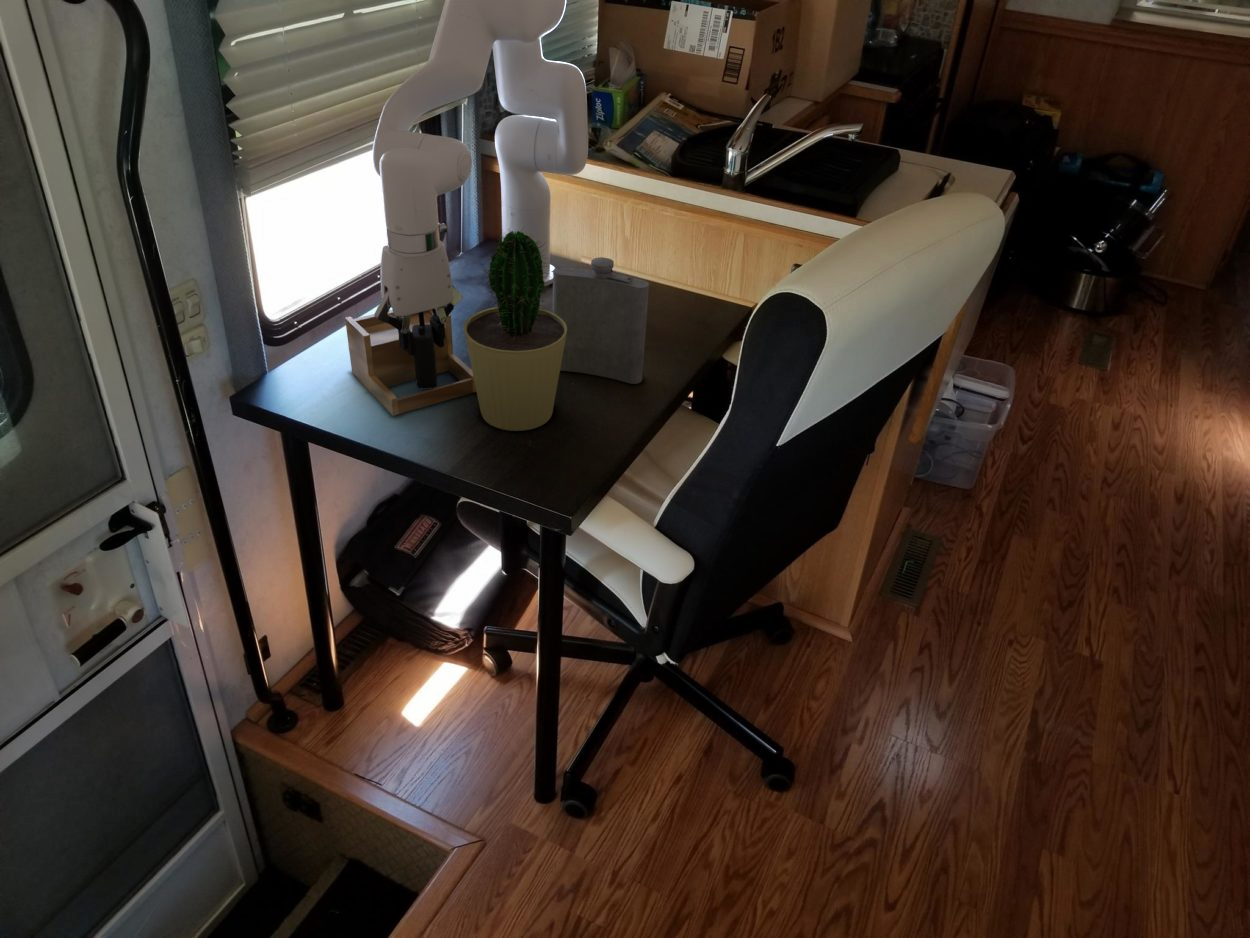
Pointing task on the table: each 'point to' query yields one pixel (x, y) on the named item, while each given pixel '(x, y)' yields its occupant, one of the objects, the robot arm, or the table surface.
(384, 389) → the step shelf
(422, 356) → the walkie-talkie
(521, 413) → the potted cactus
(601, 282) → the hip flask
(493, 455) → the table surface
